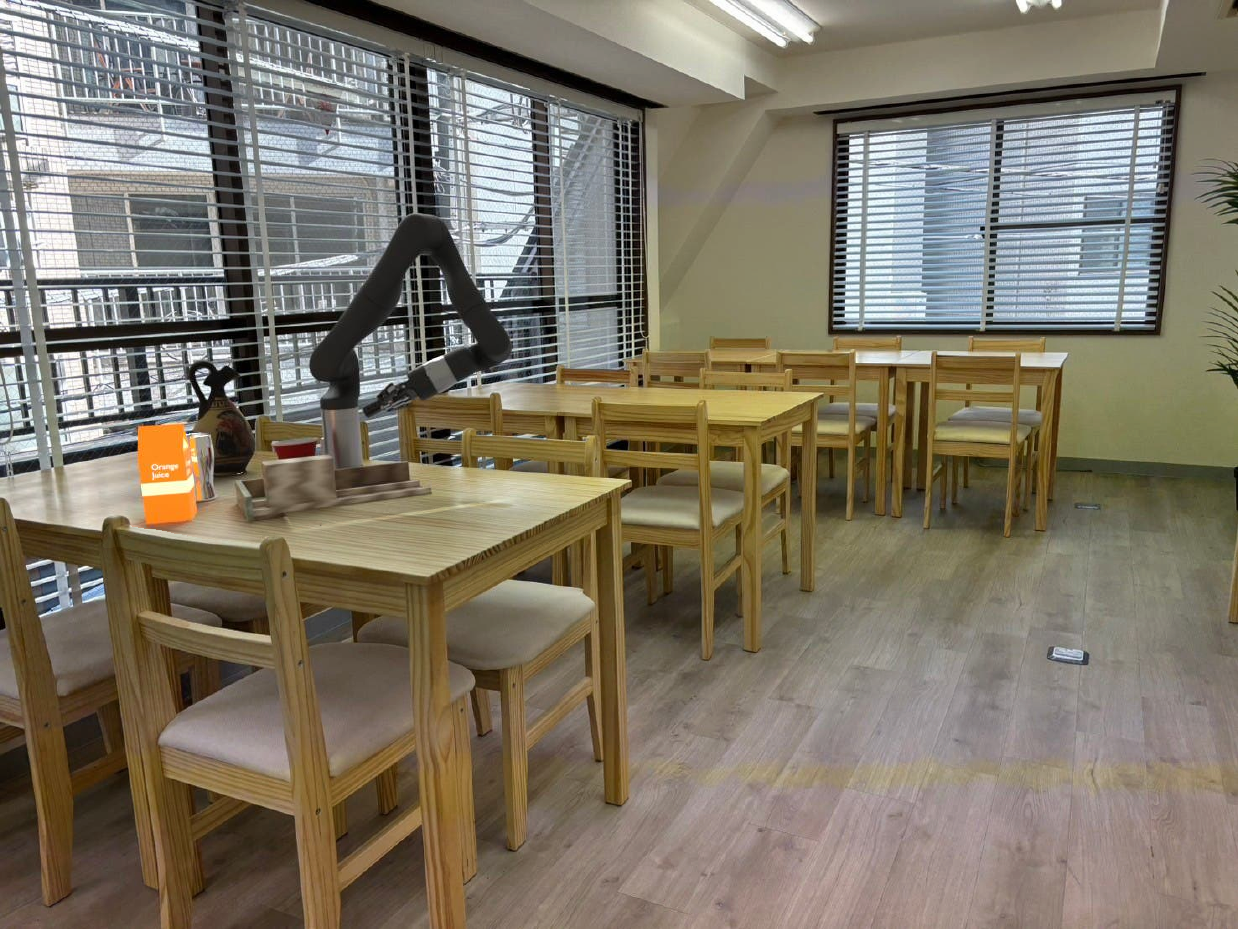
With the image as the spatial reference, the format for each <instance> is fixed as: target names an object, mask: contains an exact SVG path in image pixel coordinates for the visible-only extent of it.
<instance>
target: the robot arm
mask: <svg viewBox="0 0 1238 929" xmlns="http://www.w3.org/2000/svg"><path fill="white" fill-rule="evenodd" d="M420 255H424V256H425V255H427V256H429V257H430V258H431V259H432V260H433V261H434V263H435V264H436V265H437V266H438V268H439V270H440V271H441V273H442V276H443V279H444V281H445V282H444V283H445V286H446V290H447V291H446V292H447V295H448V299H449V301H450V302H451V305H452V307H453V308H454V309H455V311H456V313H457V315H458V317H459V318H460V319H461V321H462V322H463V324H464V325H465V327H467V329H469V330H470V333H471V334H472V336H473V337H474V339H475V341H476V343H474V344H472V345H469V346H460V347H457V348H455V349H453V350H451V351H448V352H447V353H445V354H443V355H440V356H438V357H435V358H432V359H431V360H429V361H427V362H425V363H423V364H421V365H419V366H417V367H415V368H414V369H411V370H409V371H407V373H406V377H407V378H408V379H407V380H405V381H402V382H398V383H397V384H395V383H394V382H390V383H388V385H386V386H385V387H384V388H383V389H382V390H381V391H380V392H379V393H378V394H377V395H376V400H375V401H374V402H372V403H369V404H367V405H366V406H364V407H363V408H362V412H363V414H364V416H365V417H367V419H368V418H372V417H373V416H374V415H376V414H379V413H381V412H387V413H390V412H393V411H398V410H402V409H406V408H408V407H410V404H409V403H411V402H412V401H414V400H415V399H416V398H417V397H418V399H419V400H420V401H421V402H425V401H427V400H429V399H431V398H433V397H435V396H437V395H439V394H442V393H443V392H445V391H446V390H448V389H450V388H452V387H453V386H454V385H455V384H457V383H459V382H462V381H464V380H465V379H467V378H469V377H471V376H472V375H474V374H475V373H479V372H481V371H486V370H488V369H491V368H493V367H496V366H498V365H500V364H502V363H504V362H506V360H507V359H509V358H510V357H511V354H512V351H513V345H512V341H511V339H510V336H509V334H508V332H507V331H506V329H505V328H504V326H503V325H502V324H501V322H500V321H499V319H498V318H497V317H496V316H495V315H494V313H493V311H492V309H491V308H490V306H489V304H488V303H487V301H486V300H485V298H484V296H483V294H481V292H480V290H479V289H478V287H477V285H476V284H475V282H474V281H473V278H472V277H471V275H470V273H469V271H468V270H467V269H468V268H467V267H466V264H464V261H463V259H462V257H461V254H460V252H459V251H458V248H457V246H456V243H455V241H454V239H453V237H452V234H451V232H450V229H449V227H448V226H447V224H446V223H445V221H444V220H443V219H441V217H438V216H436V215H433V214H426V213H419V212H418V213H417V212H413V213H410V214H407V215H406V216H404V218H403V219H402V220H401V221H400V222H399V224H398V226H397V227H396V229H395V230H394V233H393V235H392V237H391V239H390V241H389V243H388V245H387V246H386V248H385V250H384V251H383V253H382V256H380V258H379V260H378V261H377V263H376V265H374V267H373V269H372V270H371V271H370V274H369V275H368V277H366V280H365V281H364V282H363V283H362V284H361V285H360V287H359V289H358V291H357V292H356V294H355V295H354V296H353V298H352V300H351V301H350V303H349V304H348V306H347V307H346V309H345V310H344V311H343V312H342V314H341V316H340V317H339V319H338V320H337V322H336V324H334V326H333V327H332V329H331V330H330V331H329V333H327V335H326V336H325V337H324V338H323V339H322V340H321V342H320V343H319V344H318V345H317V346H316V347H315V349H314V350H313V351H312V352H311V355H310V357H309V362H308V365H309V366H308V368H309V372H310V374H311V376H312V377H313V378H314V379H315V380H317V381H318V382H321V383H329V387H328V390H327V392H325V393H324V394H323V395H322V396H321V397H320V399H319V404H320V405H319V409H320V414H321V415H320V417H321V426H322V427H321V428H322V437H321V438H320V440H319V443H320V444H319V445H320V452H321V453H320V454H321V455H330V456H331V457H333V462H334V470H335V469H344V468H352V467H361V466H364V463H363V461H364V460H363V450H362V449H363V448H362V447H363V446H362V435H361V425H360V424H361V423H360V414H359V412H360V411H359V398H360V394H361V379H360V378H361V376H360V375H361V374H360V362H359V358H358V354H357V353H356V350H354V349H355V347H357V345H358V344H359V343H360V342H362V341H363V340H364V339H366V338H367V337H369V336H370V335H371V334H373V332H375V331H377V330H378V329H379V328H380V327H381V326H382V325H383V324H384V323H385V322H386V321H387V320H388V319H389V317H390V316H391V314H392V312H393V311H394V310H395V308H396V307H397V305H398V303H399V302H400V298H401V295H402V290H403V289H402V288H403V282H404V278H405V276H406V273H407V272H408V270H409V268H410V267H411V266H412V265H413V264H414V262H415V261H416V259H418V257H419V256H420Z"/></svg>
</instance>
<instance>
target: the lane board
mask: <svg viewBox="0 0 1238 929" xmlns="http://www.w3.org/2000/svg"><path fill="white" fill-rule="evenodd" d="M334 473H335V484H336V495H337V499H334V500H326V501H319V502H311V503H303V504H296V505H288V506H280V507H273V508H267V507H266V499H265V500H257V501H252V498H259V497H265V489H264V479H263V477H259V478H251V479H243V480H242V479H239V480H234V486H235V494H236V502H237V505H238V507H239V509H240V511H241V512H242V514H243V516H244V517H245V519H246V521H247V522H253V521H260V520H268V519H275V518H282V517H283V518H284V517H287V515H286V514H288V513H293V512H301V511H308V510H317V509H323V508H324V509H325V508H331V507H338V506H339V507H340V506H345V505H353V504H361V503H368V502H376V501H383V500H384V501H385V500H389V499H391V500H392V499H399V498H406V497H412V496H420V495H429V494H432V487H430V486H428V487H427V486H426V487H423V486H421V483H420V480H419V479H417V480H412V479H411V478H410V464H409V461H408V460H405V461H398V462H396V461H395V462H389V463H378V464H371V465H370V464H369V465H363V466H361V467H352V468H344V469H335V470H334ZM379 482H387V483H389V484H383V485H375V486H367V487H360V488H353V487H352V486H355V485H363V484H371V483H379Z"/></svg>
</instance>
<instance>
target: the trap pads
mask: <svg viewBox="0 0 1238 929" xmlns="http://www.w3.org/2000/svg"><path fill="white" fill-rule="evenodd" d="M383 484H389V483H387V482H379V483H371V484H363V485H355V486H352V487H353V488H360V487H367V486H375V485H383Z"/></svg>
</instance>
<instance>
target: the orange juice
mask: <svg viewBox="0 0 1238 929" xmlns="http://www.w3.org/2000/svg"><path fill="white" fill-rule="evenodd" d="M137 427H138V429H137V430H138V434H137V455H136V456H137V464H138V471H139V479H140V487H141V488H140V489H141V494H142V499H143V509H144V516H145V522H146V523H145V524H146V525H154V524H163V523H165V524H166V523H177V522H187V520H188V521H192V520H193V519H194V518H195V516H196V515H197V513H198V508H197V502H196V498H195V490H194V479H193V473H192V465H191V457H190V448H189V444H188V440H187V436H186V434H187V433H186V429H185V426H184V423H175V424H174V423H173V424H160V425H159V424H158V425H143V426H142V425H141V426H137ZM195 514H196V515H195Z"/></svg>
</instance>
